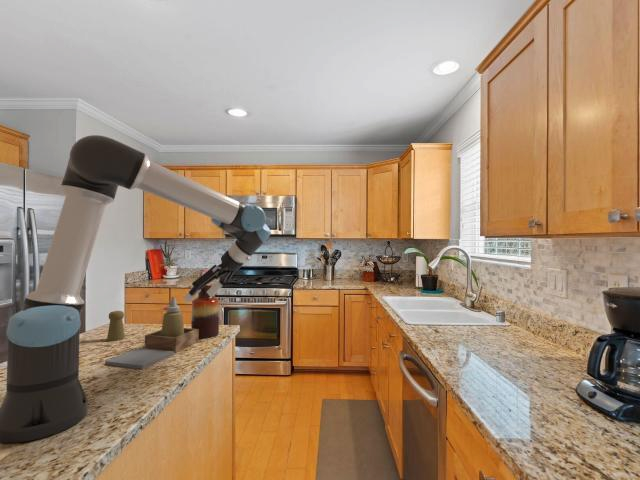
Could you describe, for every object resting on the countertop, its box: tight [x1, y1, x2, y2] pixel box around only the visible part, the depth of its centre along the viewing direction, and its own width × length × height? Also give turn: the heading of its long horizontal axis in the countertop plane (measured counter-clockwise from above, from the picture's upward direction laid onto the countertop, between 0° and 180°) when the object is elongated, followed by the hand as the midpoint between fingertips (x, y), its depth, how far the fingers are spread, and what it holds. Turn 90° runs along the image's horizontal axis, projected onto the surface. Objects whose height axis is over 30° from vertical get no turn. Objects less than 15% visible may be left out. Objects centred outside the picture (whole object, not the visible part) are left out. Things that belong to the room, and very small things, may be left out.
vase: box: [190, 284, 220, 340], centre depth 137 cm, size 11×11×20 cm
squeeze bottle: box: [161, 296, 185, 337], centre depth 122 cm, size 8×8×18 cm
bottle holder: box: [144, 327, 200, 354], centre depth 122 cm, size 13×13×5 cm
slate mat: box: [104, 347, 175, 370], centre depth 107 cm, size 14×14×1 cm
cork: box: [106, 310, 126, 342], centre depth 130 cm, size 6×6×11 cm
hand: (198, 297), depth 120 cm, fingers open, 13 cm apart
